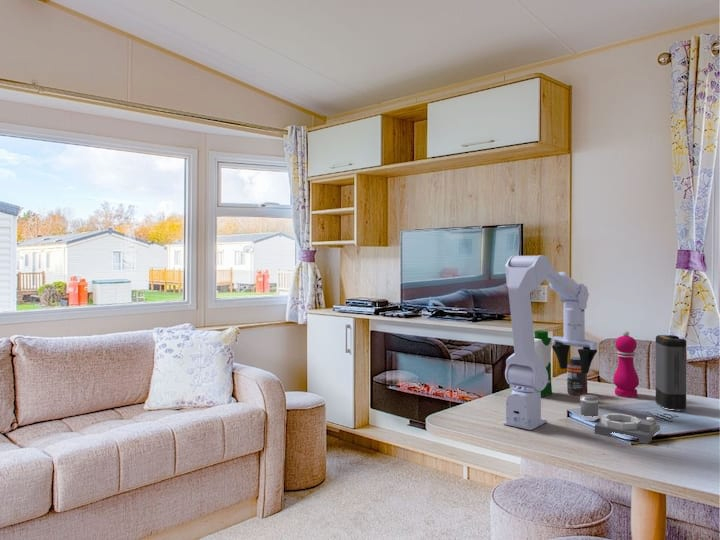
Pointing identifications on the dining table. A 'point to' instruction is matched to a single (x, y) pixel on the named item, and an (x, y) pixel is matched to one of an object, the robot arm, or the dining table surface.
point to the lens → (589, 405)
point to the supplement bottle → (576, 378)
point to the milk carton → (544, 356)
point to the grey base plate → (627, 426)
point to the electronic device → (671, 372)
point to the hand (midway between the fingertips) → (574, 370)
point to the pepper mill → (626, 367)
